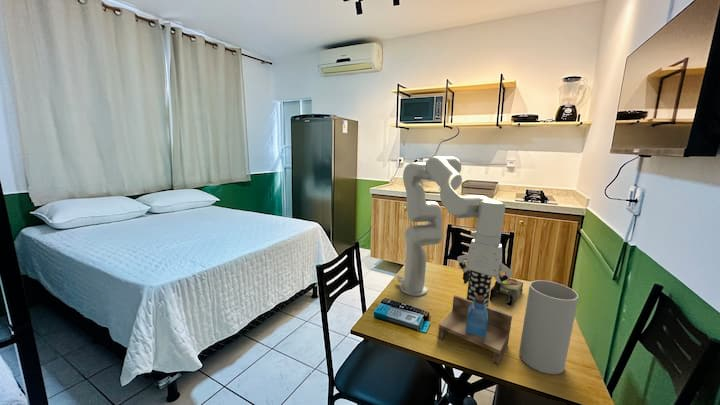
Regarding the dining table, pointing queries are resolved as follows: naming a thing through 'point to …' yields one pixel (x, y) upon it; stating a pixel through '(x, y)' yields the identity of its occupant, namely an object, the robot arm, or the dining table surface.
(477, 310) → the perfume bottle
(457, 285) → the dining table surface
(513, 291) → the juice carton
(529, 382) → the dining table surface
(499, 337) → the brown wooden bench
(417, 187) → the robot arm
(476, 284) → the spotted tube
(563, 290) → the cylinder vase
